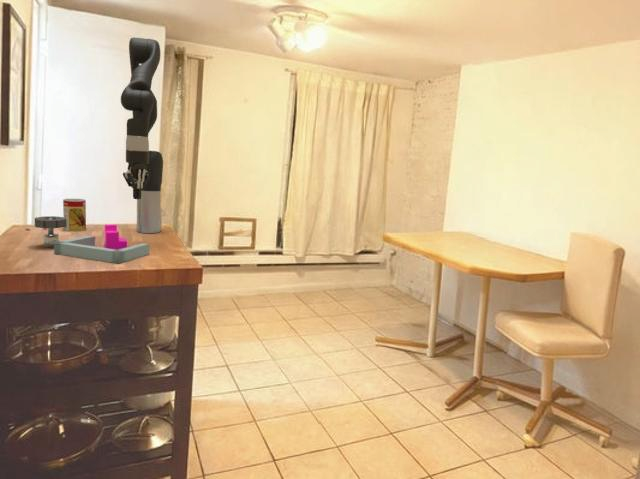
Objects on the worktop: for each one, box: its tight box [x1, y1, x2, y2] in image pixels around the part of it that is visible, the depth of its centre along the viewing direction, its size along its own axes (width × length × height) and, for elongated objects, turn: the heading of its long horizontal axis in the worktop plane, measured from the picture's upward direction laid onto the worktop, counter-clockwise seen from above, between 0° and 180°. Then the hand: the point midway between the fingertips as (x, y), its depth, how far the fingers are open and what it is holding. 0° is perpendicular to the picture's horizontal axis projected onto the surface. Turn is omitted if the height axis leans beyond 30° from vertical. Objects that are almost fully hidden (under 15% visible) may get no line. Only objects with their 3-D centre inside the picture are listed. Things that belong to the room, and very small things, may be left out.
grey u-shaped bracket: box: [53, 235, 150, 264], centre depth 152 cm, size 15×24×4 cm, turn 75°
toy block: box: [104, 224, 128, 250], centre depth 160 cm, size 15×6×8 cm, turn 26°
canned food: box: [62, 198, 87, 232], centre depth 186 cm, size 8×8×12 cm
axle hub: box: [42, 218, 60, 249], centre depth 156 cm, size 4×4×10 cm
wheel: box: [34, 215, 66, 229], centre depth 155 cm, size 9×9×2 cm
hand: (137, 198), depth 166 cm, fingers closed
